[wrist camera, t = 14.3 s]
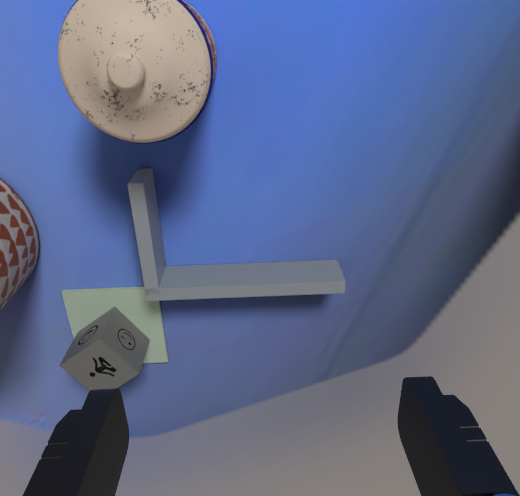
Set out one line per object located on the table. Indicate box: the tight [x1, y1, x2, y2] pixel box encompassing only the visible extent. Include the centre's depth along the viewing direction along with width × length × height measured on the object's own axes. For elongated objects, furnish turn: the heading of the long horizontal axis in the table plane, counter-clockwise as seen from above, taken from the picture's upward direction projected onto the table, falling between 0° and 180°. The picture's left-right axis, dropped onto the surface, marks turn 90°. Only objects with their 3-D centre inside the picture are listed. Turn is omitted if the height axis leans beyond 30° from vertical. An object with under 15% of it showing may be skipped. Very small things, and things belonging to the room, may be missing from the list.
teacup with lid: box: [58, 0, 217, 143], centre depth 29 cm, size 12×9×12 cm
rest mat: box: [61, 287, 168, 363], centre depth 46 cm, size 9×9×1 cm
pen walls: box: [127, 168, 345, 301], centre depth 39 cm, size 17×11×4 cm, turn 92°
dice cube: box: [60, 306, 150, 391], centre depth 44 cm, size 5×5×5 cm
